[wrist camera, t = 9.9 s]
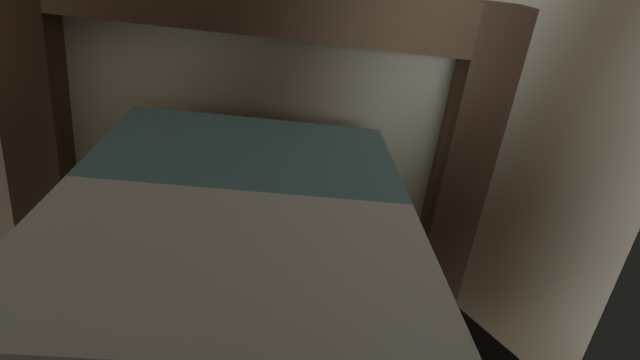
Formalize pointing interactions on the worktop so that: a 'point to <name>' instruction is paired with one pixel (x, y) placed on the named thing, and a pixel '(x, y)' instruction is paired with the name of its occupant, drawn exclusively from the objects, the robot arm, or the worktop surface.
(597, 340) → the worktop surface
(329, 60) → the seating plate
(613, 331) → the worktop surface
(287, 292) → the block stack
